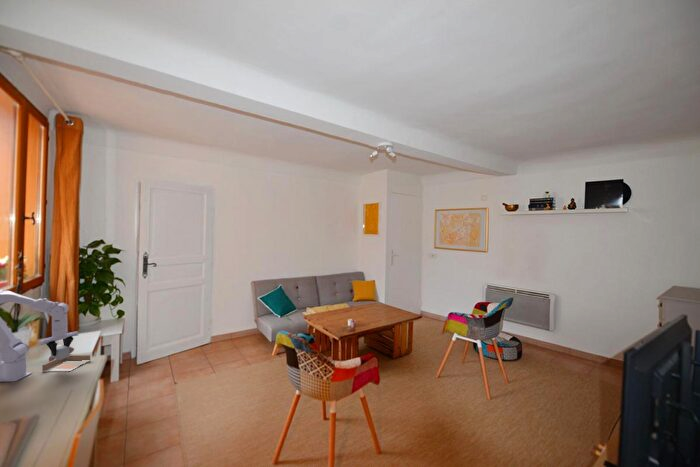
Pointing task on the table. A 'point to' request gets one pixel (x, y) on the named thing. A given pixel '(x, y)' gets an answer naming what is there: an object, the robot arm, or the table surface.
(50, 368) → the tray
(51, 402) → the table surface
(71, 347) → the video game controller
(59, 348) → the slate block
